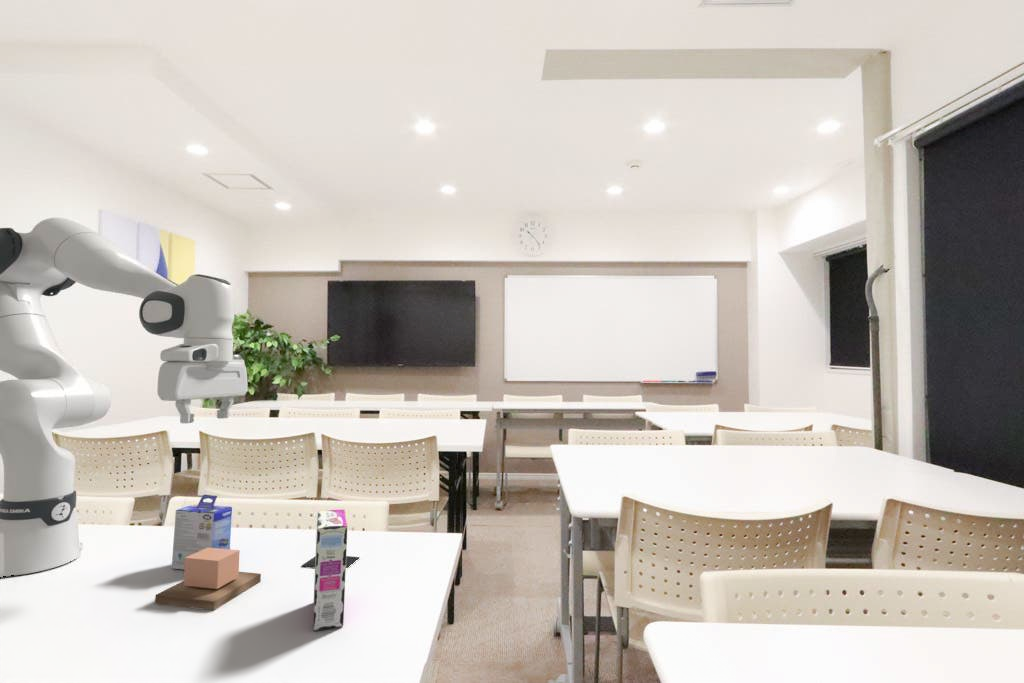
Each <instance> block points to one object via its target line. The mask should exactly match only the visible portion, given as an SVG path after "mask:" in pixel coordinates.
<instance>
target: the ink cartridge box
mask: <svg viewBox="0 0 1024 683" xmlns="http://www.w3.org/2000/svg"><path fill="white" fill-rule="evenodd" d="M217 498H218V495H212V494H211V495H210V494H202V496H201V498H200V500H199V501H198V504H191V505H188V506H187V505H186V506H184V507H182V508H179V509H176V510H175V517H174V530H173V546H172V556H171V557H172V558H171V569H173V570H175V569H176V570H184V571H185V558H186V557H188V556H190V555H192V554H194V553H197V552H199V551H201V550H203V549H205V548H219V549H231V536H232V534H231V533H232V518H233V517H232V513H233V506H225V505H215V503H216V500H217ZM207 499H209V500H212V501H211V502H208V501H204V500H207Z"/></svg>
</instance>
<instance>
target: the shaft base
mask: <svg viewBox="0 0 1024 683" xmlns="http://www.w3.org/2000/svg"><path fill="white" fill-rule="evenodd" d="M261 576H262V574H261V573H257V572H248V571H247V572H246V571H239V576H238V577H237V578H236V579H234V580H232V581H230V582H229V583H227V584H225V585H223V586H222V587H220V588H218V589H213V588H203V587H194V586H185V585H184V580H183V581H180V582H178V583H176V584H174V585H172V586H171V587H169V588H166V589H165V590H163V591H160V592H158V593H156V594H155V599H154V600H155V602H154V604H158V605H166V606H173V607H175V606H176V607H181V608H182V607H183V608H191V609H199V610H210V611H215V610H218V609H219V608H221V607H222V606H224V605H225V604H227V603H228V602H230V601H232V600H233V599H235V598H236V597H238V596H240V595H241V594H243V593H244V592H246V591H248V590H249V589H250V588H252V587H254V586H256V585H258V584H259V583H261V580H262V579H261Z"/></svg>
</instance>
